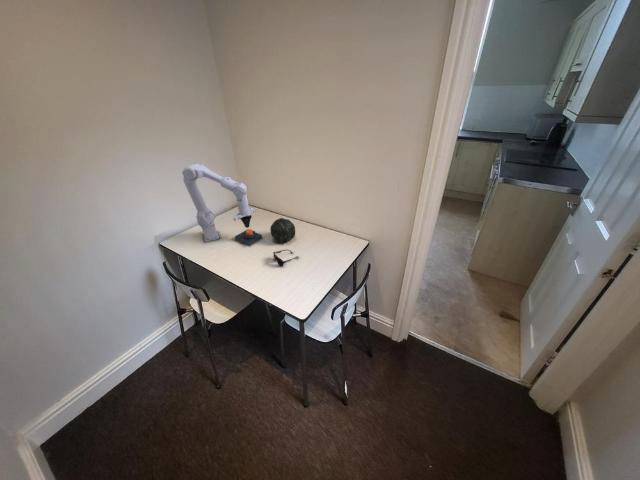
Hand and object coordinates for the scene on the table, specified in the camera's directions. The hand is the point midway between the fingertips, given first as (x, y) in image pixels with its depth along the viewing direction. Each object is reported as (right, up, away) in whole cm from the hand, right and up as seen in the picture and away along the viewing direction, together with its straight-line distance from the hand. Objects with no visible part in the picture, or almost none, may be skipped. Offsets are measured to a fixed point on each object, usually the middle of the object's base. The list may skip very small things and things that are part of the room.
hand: (247, 226), depth 148 cm
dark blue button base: (-1, -7, +5) cm, 9 cm away
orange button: (+1, -4, +2) cm, 5 cm away
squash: (+20, -7, +6) cm, 22 cm away
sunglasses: (+24, -18, -12) cm, 32 cm away
